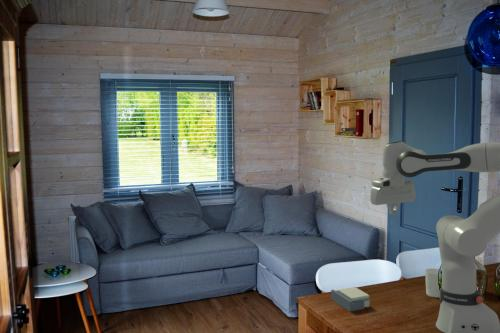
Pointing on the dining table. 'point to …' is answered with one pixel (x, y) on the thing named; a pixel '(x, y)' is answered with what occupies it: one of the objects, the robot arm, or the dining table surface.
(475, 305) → the robot arm
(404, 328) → the dining table surface
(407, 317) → the dining table surface
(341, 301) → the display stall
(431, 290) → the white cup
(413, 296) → the dining table surface
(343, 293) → the cream rectangular block
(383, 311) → the dining table surface
